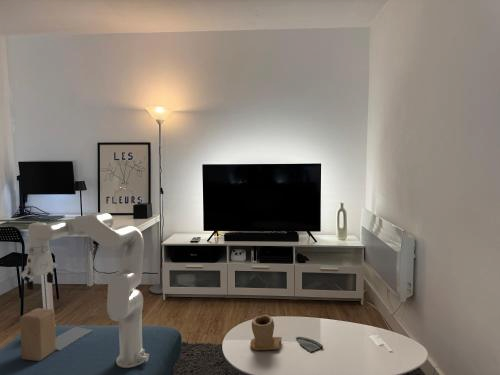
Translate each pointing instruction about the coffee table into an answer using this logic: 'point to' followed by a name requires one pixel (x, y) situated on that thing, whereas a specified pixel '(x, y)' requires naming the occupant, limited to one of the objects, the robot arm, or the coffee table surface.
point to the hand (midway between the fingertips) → (40, 286)
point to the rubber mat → (70, 337)
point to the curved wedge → (309, 344)
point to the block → (37, 334)
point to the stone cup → (264, 334)
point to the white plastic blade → (380, 342)
